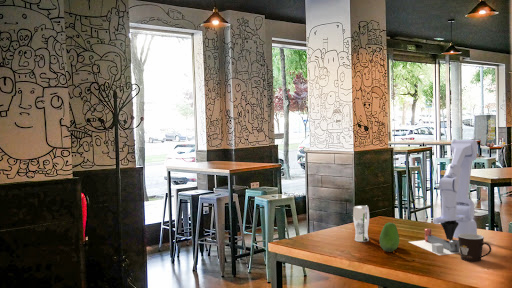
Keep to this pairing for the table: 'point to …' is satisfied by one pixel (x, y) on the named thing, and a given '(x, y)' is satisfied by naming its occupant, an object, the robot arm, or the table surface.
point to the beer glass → (361, 223)
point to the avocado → (389, 237)
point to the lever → (442, 241)
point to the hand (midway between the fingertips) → (449, 239)
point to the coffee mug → (471, 247)
